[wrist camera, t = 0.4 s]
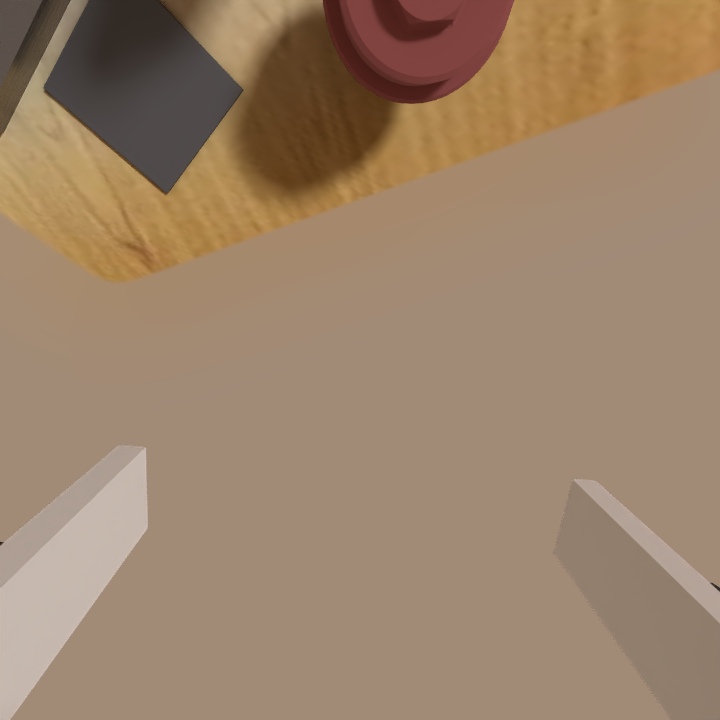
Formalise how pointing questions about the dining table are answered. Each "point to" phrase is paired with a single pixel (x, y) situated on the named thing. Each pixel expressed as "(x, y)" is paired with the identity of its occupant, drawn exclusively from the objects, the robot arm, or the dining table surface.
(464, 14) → the mechanical component
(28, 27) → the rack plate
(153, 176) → the rubber mat
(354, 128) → the dining table surface
